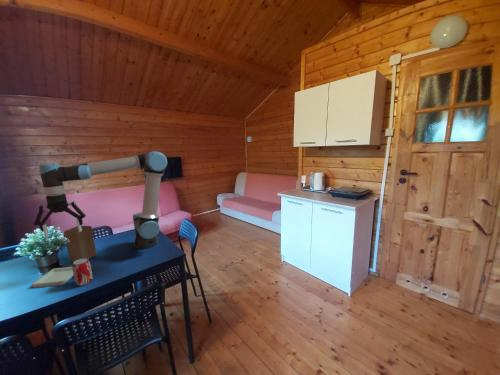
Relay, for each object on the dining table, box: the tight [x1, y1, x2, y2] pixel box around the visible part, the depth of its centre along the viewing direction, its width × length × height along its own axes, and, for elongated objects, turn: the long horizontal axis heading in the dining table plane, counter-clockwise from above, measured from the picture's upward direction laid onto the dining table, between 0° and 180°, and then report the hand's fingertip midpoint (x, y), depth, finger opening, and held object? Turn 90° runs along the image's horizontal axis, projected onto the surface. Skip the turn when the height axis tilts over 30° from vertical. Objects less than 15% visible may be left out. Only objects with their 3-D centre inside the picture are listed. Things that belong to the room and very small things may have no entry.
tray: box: [31, 266, 74, 289], centre depth 114 cm, size 14×14×2 cm
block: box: [63, 225, 98, 263], centre depth 132 cm, size 10×10×20 cm
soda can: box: [71, 258, 94, 287], centre depth 108 cm, size 7×7×12 cm
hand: (64, 233), depth 112 cm, fingers open, 13 cm apart
